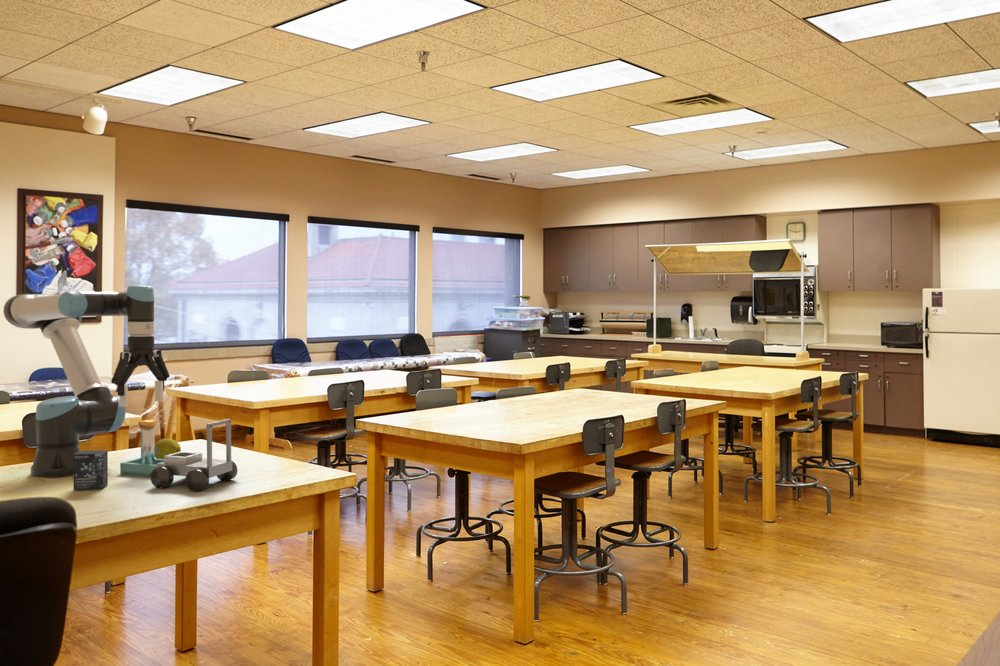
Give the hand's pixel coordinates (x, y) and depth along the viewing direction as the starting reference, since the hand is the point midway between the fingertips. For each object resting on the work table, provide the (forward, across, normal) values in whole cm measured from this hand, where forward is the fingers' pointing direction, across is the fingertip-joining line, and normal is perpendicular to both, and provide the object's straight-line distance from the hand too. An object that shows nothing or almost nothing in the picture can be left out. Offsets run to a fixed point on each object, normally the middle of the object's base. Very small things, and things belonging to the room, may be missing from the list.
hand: (141, 403), depth 250 cm
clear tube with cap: (+21, +2, 0) cm, 21 cm away
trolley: (+22, -4, -25) cm, 33 cm away
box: (+22, -20, -2) cm, 30 cm away
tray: (+22, +2, 0) cm, 22 cm away
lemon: (+22, +16, +7) cm, 28 cm away
